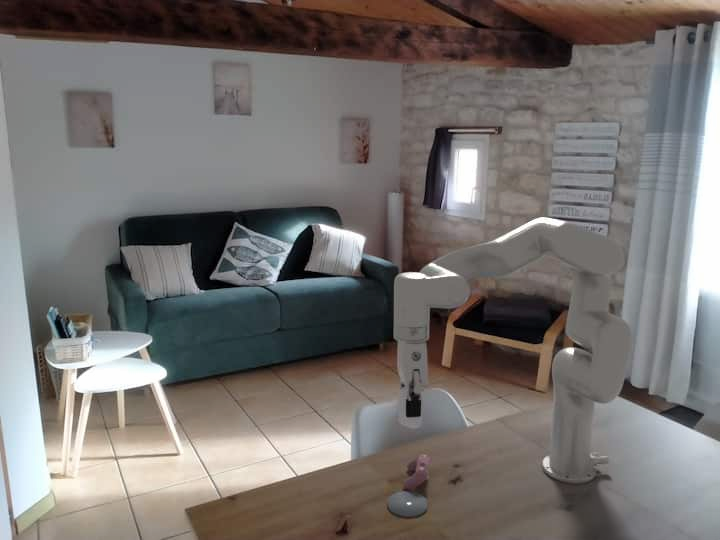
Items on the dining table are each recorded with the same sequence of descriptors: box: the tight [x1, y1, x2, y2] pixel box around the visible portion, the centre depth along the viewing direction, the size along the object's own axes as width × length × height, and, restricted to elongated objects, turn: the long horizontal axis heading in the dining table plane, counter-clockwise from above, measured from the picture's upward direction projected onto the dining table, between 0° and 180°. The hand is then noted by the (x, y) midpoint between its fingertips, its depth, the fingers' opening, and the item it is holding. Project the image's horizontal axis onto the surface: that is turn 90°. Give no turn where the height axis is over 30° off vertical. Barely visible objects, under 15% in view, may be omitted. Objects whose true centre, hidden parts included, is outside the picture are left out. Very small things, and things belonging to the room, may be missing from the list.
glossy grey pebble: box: [387, 490, 429, 518], centre depth 137 cm, size 9×9×1 cm
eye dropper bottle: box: [397, 383, 423, 430], centre depth 132 cm, size 4×6×12 cm
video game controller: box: [402, 453, 431, 490], centre depth 147 cm, size 10×5×7 cm, turn 169°
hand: (410, 409), depth 132 cm, fingers closed on eye dropper bottle, 5 cm apart
